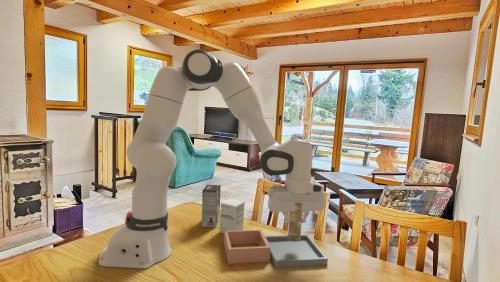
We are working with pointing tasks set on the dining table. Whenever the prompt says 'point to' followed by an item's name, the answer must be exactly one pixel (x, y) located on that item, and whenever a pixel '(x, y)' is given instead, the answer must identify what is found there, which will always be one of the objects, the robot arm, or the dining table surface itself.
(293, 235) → the dowel
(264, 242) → the open square box
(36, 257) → the dining table surface
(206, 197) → the coffee box
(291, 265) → the tray
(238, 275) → the dining table surface
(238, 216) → the supplement box
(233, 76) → the robot arm
